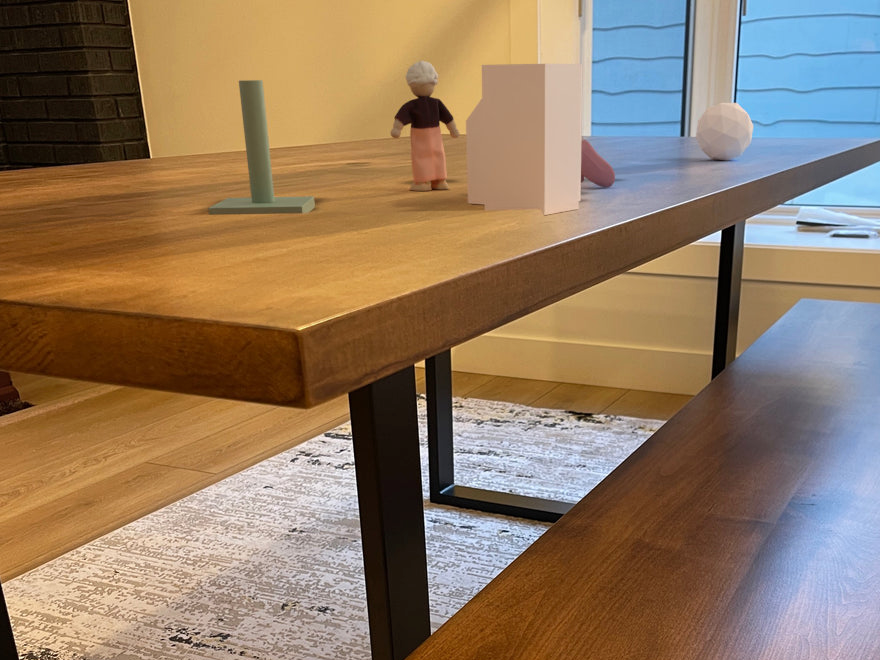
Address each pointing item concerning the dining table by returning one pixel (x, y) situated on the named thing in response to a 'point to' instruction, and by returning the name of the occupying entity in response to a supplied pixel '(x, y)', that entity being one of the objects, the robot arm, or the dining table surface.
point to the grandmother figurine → (425, 128)
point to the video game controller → (595, 166)
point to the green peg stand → (259, 163)
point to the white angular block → (526, 138)
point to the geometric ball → (724, 131)
